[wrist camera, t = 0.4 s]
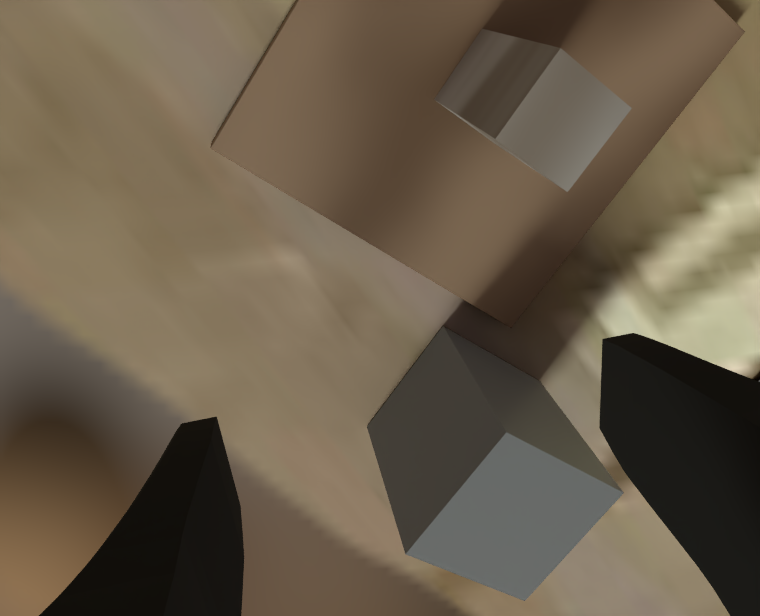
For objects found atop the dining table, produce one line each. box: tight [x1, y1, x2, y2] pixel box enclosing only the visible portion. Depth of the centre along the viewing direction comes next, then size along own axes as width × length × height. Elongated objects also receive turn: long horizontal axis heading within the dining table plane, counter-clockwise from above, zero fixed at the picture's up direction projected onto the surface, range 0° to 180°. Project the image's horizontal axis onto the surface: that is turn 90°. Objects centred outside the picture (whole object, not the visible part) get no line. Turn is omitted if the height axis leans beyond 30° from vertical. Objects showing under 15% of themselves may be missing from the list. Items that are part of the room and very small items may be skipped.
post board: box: [211, 0, 745, 328], centre depth 18 cm, size 11×11×6 cm
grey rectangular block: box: [367, 326, 624, 601], centre depth 22 cm, size 4×4×6 cm
